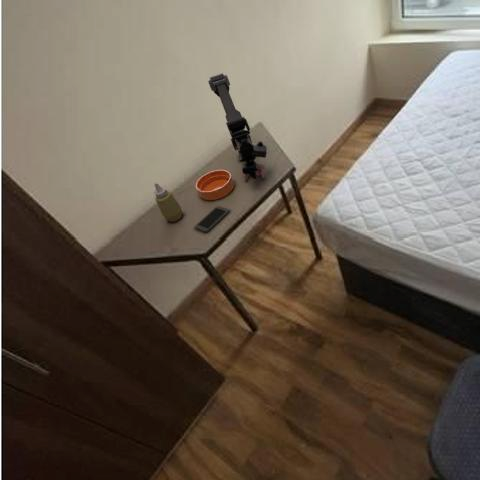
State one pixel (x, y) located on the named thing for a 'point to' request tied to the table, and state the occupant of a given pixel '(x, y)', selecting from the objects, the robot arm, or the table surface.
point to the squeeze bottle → (167, 204)
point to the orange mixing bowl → (215, 184)
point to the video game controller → (258, 171)
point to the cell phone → (211, 219)
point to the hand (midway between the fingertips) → (254, 174)
